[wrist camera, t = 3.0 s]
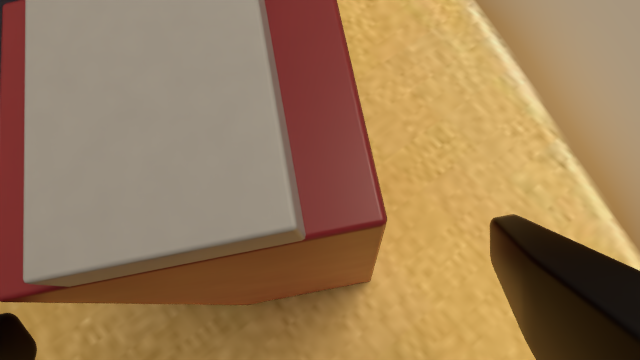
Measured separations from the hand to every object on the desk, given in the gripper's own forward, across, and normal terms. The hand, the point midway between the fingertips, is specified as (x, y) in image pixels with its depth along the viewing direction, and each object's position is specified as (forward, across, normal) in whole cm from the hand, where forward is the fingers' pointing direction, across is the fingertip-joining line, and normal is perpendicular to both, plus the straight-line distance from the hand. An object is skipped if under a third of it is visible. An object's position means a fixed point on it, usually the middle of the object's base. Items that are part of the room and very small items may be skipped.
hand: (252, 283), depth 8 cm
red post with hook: (+10, 0, +4) cm, 10 cm away
